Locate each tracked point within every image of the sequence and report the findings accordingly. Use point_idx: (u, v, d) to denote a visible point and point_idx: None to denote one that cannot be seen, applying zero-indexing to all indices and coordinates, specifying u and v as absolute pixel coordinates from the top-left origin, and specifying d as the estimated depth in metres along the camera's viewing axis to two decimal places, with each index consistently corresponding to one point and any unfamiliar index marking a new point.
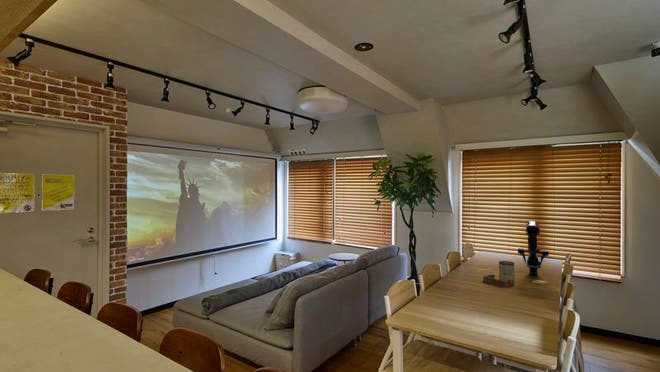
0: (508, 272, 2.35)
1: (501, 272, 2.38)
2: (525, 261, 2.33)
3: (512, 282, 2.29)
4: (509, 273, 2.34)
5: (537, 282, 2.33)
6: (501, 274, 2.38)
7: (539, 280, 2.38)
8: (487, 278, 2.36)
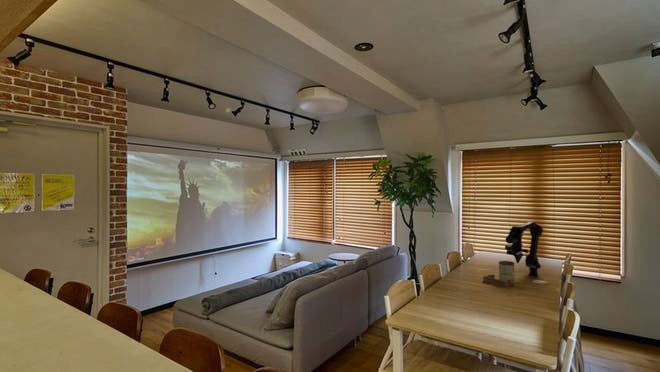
0: (508, 272, 2.35)
1: (501, 272, 2.38)
2: None
3: (512, 282, 2.29)
4: (509, 273, 2.34)
5: (537, 282, 2.33)
6: (501, 274, 2.38)
7: (539, 280, 2.38)
8: (487, 278, 2.36)
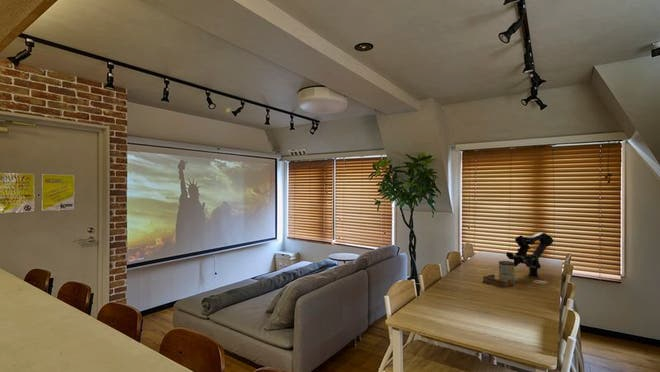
0: (508, 272, 2.35)
1: (501, 272, 2.38)
2: (516, 265, 2.44)
3: (512, 282, 2.29)
4: (509, 273, 2.34)
5: (537, 282, 2.33)
6: (501, 274, 2.38)
7: (539, 280, 2.38)
8: (487, 278, 2.36)
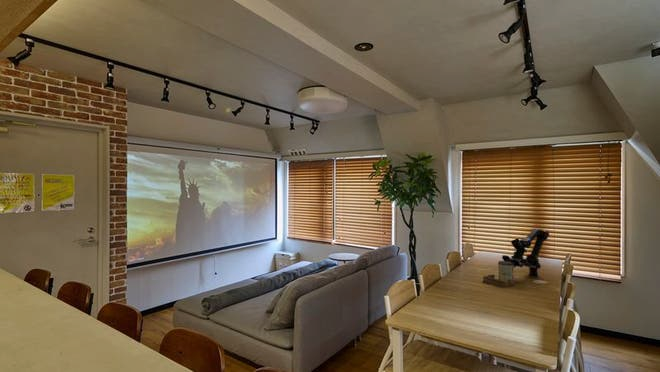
0: (507, 273, 2.34)
1: (500, 272, 2.38)
2: None
3: (512, 282, 2.29)
4: (508, 273, 2.34)
5: (537, 282, 2.33)
6: (501, 274, 2.37)
7: (539, 280, 2.38)
8: (487, 278, 2.36)
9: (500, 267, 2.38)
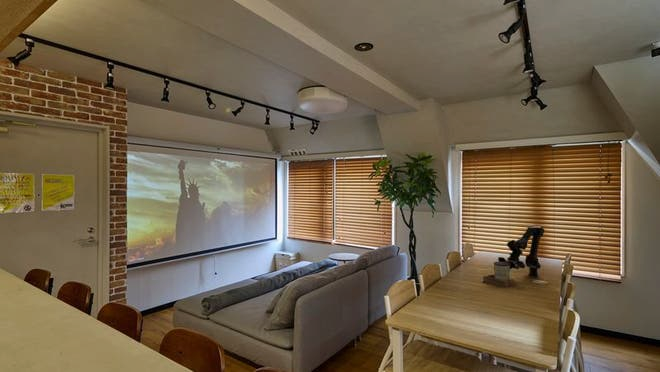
0: (503, 273, 2.32)
1: (496, 273, 2.36)
2: None
3: (512, 282, 2.29)
4: (504, 274, 2.32)
5: (537, 282, 2.33)
6: (496, 275, 2.35)
7: (539, 280, 2.38)
8: (487, 278, 2.36)
9: (496, 268, 2.36)
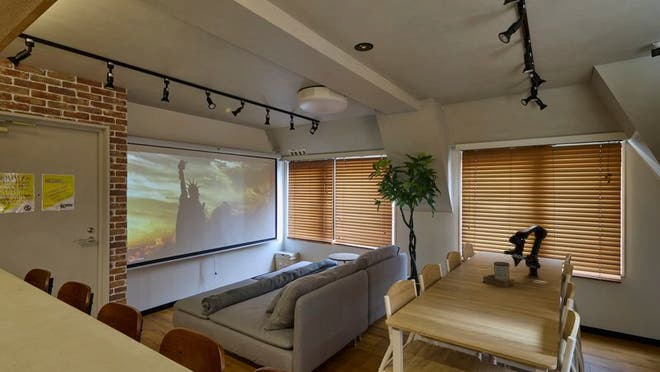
0: (502, 273, 2.32)
1: (496, 273, 2.36)
2: None
3: (512, 282, 2.29)
4: (504, 274, 2.32)
5: (537, 282, 2.33)
6: (496, 275, 2.35)
7: (539, 280, 2.38)
8: (487, 278, 2.36)
9: (496, 268, 2.36)
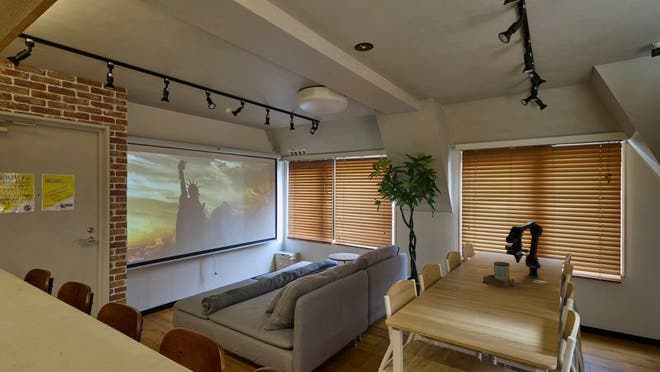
0: (502, 273, 2.32)
1: (496, 273, 2.36)
2: None
3: (512, 282, 2.29)
4: (504, 274, 2.32)
5: (537, 282, 2.33)
6: (496, 275, 2.35)
7: (539, 280, 2.38)
8: (487, 278, 2.36)
9: (496, 268, 2.36)
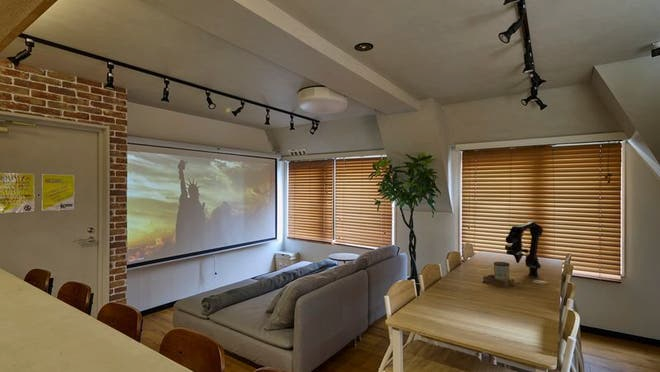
0: (502, 273, 2.32)
1: (496, 273, 2.36)
2: None
3: (512, 282, 2.29)
4: (504, 274, 2.32)
5: (537, 282, 2.33)
6: (496, 275, 2.35)
7: (539, 280, 2.38)
8: (487, 278, 2.36)
9: (496, 268, 2.36)
